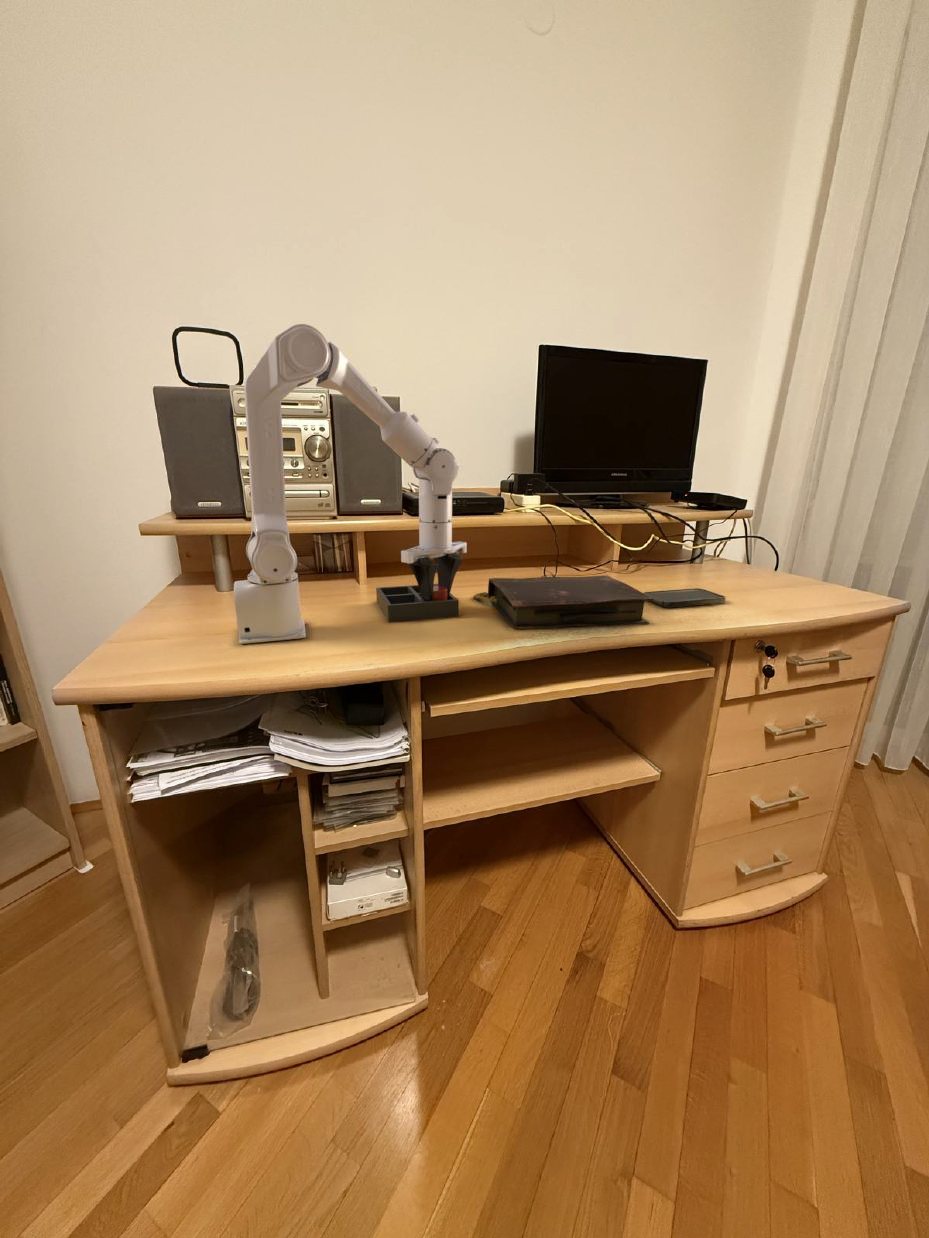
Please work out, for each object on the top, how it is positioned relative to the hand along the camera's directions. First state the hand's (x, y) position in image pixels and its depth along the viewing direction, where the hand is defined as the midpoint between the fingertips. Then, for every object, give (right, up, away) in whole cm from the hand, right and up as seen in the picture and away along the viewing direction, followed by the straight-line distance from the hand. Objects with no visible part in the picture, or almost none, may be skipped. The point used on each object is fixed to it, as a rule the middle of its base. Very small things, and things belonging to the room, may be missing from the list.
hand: (435, 596), depth 89 cm
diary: (+24, -3, +2) cm, 24 cm away
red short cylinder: (0, -1, 0) cm, 1 cm away
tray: (-4, -2, +3) cm, 5 cm away
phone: (+50, 0, +11) cm, 51 cm away
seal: (+14, -1, +9) cm, 17 cm away
